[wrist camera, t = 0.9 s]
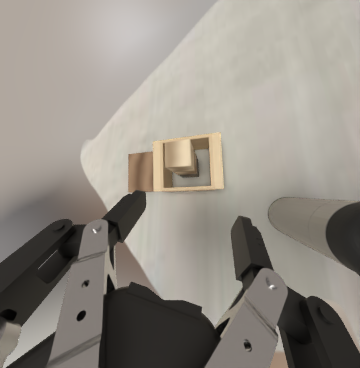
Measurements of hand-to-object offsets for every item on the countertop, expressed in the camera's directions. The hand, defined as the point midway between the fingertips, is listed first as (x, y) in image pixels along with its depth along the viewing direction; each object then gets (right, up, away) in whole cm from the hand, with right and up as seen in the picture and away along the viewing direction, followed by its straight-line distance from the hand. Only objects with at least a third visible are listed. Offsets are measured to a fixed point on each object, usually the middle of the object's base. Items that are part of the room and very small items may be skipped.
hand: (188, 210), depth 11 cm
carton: (+3, +7, +29) cm, 30 cm away
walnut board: (-13, +6, +33) cm, 36 cm away
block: (+3, +7, +29) cm, 30 cm away
